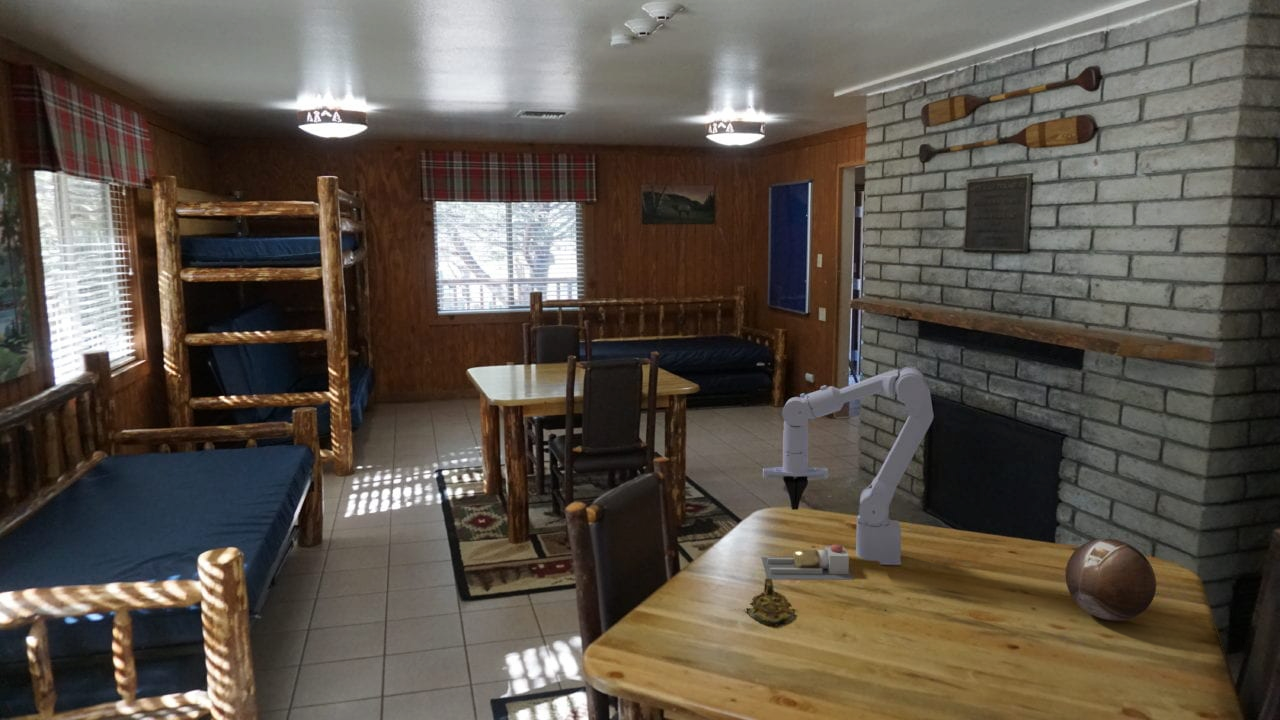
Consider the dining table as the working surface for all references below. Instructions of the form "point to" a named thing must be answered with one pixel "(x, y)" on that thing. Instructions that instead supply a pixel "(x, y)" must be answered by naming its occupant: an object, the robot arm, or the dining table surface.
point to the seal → (770, 607)
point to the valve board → (830, 568)
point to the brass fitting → (805, 559)
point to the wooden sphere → (1110, 579)
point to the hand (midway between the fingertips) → (794, 508)
